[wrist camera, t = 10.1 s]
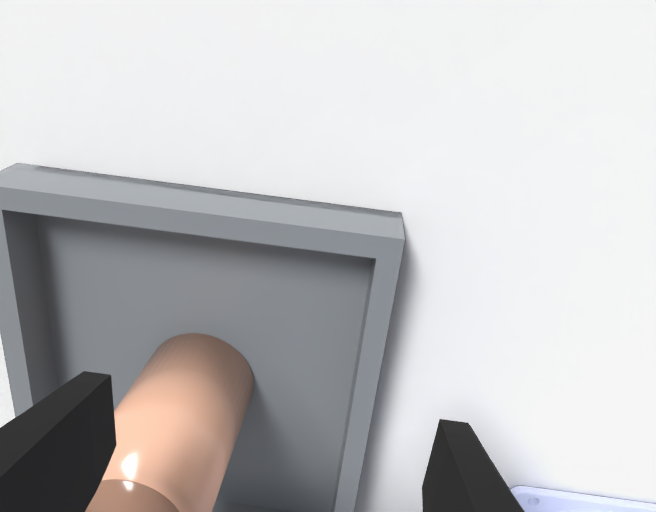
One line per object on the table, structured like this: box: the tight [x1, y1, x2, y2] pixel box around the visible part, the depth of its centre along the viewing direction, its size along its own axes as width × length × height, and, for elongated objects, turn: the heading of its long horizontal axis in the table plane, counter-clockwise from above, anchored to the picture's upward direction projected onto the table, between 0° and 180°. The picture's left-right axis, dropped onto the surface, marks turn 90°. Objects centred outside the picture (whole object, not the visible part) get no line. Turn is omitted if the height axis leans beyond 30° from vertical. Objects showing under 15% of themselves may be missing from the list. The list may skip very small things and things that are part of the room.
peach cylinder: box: [85, 333, 254, 512], centre depth 19 cm, size 4×4×7 cm
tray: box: [0, 163, 405, 512], centre depth 22 cm, size 14×16×2 cm
